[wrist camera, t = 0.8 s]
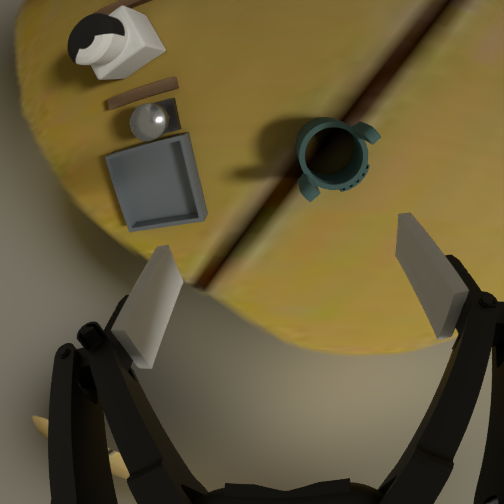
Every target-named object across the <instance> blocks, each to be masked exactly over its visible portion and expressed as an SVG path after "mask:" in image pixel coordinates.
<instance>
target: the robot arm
mask: <svg viewBox="0 0 504 504" xmlns="http://www.w3.org/2000/svg"><path fill="white" fill-rule="evenodd" d="M395 256H396V257H397V259H398V261H399V263H400V264H401V266H402V268H403V270H404V272H405V274H406V275H407V277H408V279H409V281H410V283H411V285H412V287H413V289H414V291H415V293H416V295H417V297H418V299H419V301H420V303H421V305H422V307H423V309H424V311H425V313H426V315H427V317H428V319H429V321H430V323H431V326H432V328H433V330H434V332H435V335H436V337H437V339H438V340H440V339H444V338H448V337H451V336H452V334H453V332H454V330H455V327H456V329H457V331H458V333H459V334H458V337H457V339H456V341H455V343H454V345H453V348H452V349H453V351H452V354H451V356H450V359H449V362H448V364H447V367H446V369H445V372H444V374H443V377H442V379H441V382H440V384H439V386H438V389H437V391H436V393H435V395H434V397H433V400H432V402H431V404H430V406H429V408H428V410H427V412H426V414H425V416H424V418H423V420H422V422H421V424H420V426H419V427H418V429H417V431H416V433H415V435H414V436H413V438H412V440H411V442H410V443H409V445H408V447H407V449H406V450H405V452H404V453H403V455H402V457H401V459H400V460H399V461H398V463H397V464H396V466H395V467H394V469H393V470H392V471H391V472H390V474H389V475H388V476H387V478H386V479H385V480H384V482H383V483H382V485H381V486H380V487H379V489H378V490H377V489H374V488H372V487H370V486H367V485H364V484H359V483H353V482H352V483H351V482H350V478H348V479H340V480H333V481H325V482H318V483H314V484H311V485H308V486H305V487H301V488H297V489H294V490H290V491H281V490H276V489H272V488H267V487H263V486H259V485H255V484H230V483H225V488H221V489H217V490H214V491H211V492H208V491H207V490H206V489H205V487H204V486H203V485H202V484H201V483H200V482H199V481H198V480H196V478H195V477H194V476H193V475H192V473H191V472H190V470H189V469H188V467H187V466H186V464H185V463H184V461H183V460H182V458H181V457H180V455H179V453H178V452H177V450H176V449H175V447H174V445H173V444H172V442H171V440H170V439H169V437H168V435H167V434H166V432H165V430H164V429H163V427H162V425H161V424H160V421H159V420H158V418H157V416H156V414H155V412H154V411H153V409H152V407H151V405H150V403H149V401H148V399H147V397H146V395H145V393H144V391H143V389H142V387H141V385H140V383H139V381H138V379H137V377H136V375H135V372H134V370H133V369H132V368H131V364H132V362H133V361H134V363H135V364H136V365H137V366H138V368H149V369H151V368H152V366H153V363H154V360H155V357H156V354H157V351H158V349H159V346H160V343H161V340H162V337H163V335H164V331H165V329H166V326H167V323H168V321H169V318H170V315H171V313H172V310H173V307H174V305H175V302H176V299H177V297H178V294H179V292H180V289H181V286H182V284H183V280H182V278H181V275H180V273H179V270H178V268H177V265H176V263H175V260H174V258H173V255H172V253H171V250H170V248H169V245H165V246H159V247H157V248H156V249H155V251H154V253H153V254H152V256H151V258H150V259H149V261H148V263H147V265H146V266H145V268H144V270H143V272H142V273H141V275H140V277H139V279H138V280H137V282H136V284H135V286H134V287H133V289H132V291H131V293H130V295H126V296H125V297H124V298H123V299H122V300H121V301H120V302H119V303H118V305H117V307H116V310H115V311H114V312H113V314H112V315H113V316H111V318H110V320H109V322H108V324H107V325H106V327H105V329H104V331H103V330H102V328H101V327H100V325H99V324H98V323H97V322H89V323H87V324H85V325H84V326H82V327H81V329H80V330H79V331H78V334H77V339H78V341H79V342H80V343H81V344H82V346H83V347H84V348H80V349H76V348H75V347H74V345H73V344H71V343H67V344H64V345H62V346H61V347H60V348H59V349H58V350H57V352H56V355H55V359H54V366H53V373H52V382H51V392H50V405H49V425H48V459H49V478H50V490H51V498H52V499H51V504H118V503H117V498H116V494H115V489H114V484H113V479H112V473H111V468H110V462H109V455H108V448H107V440H106V434H105V433H106V432H105V423H104V413H105V416H106V419H107V421H108V424H109V427H110V429H111V432H112V434H113V437H114V439H115V442H116V444H117V447H118V449H119V451H120V454H121V456H122V458H123V460H124V463H125V465H126V467H127V469H128V471H129V474H130V477H128V478H127V483H128V486H129V488H130V490H131V492H132V494H133V496H134V498H135V500H136V502H137V504H434V502H435V500H436V499H437V497H438V495H439V494H440V492H441V490H442V488H443V486H444V485H445V483H446V481H447V480H448V478H449V476H450V473H451V471H452V469H453V466H454V463H453V458H454V456H455V454H456V451H457V449H458V447H459V445H460V443H461V440H462V438H463V436H464V433H465V431H466V429H467V426H468V424H469V421H470V418H471V416H472V413H473V410H474V407H475V404H476V401H477V398H478V395H479V392H480V389H481V386H482V382H483V379H484V375H485V372H486V368H487V364H488V359H489V356H490V351H491V347H492V392H491V407H490V417H489V426H488V433H487V441H486V446H485V452H484V457H483V462H482V467H481V471H480V475H479V479H478V483H477V488H476V492H475V497H474V504H504V302H498V301H497V299H496V298H495V297H494V296H493V295H492V294H490V293H488V292H483V291H481V290H480V288H479V287H478V285H477V284H476V282H475V281H474V280H473V278H472V277H471V275H470V274H468V271H467V270H466V269H465V268H464V266H463V265H462V263H461V262H460V261H459V260H458V259H457V258H456V257H454V256H453V255H444V254H443V252H442V251H441V250H440V248H439V247H438V246H437V245H436V243H435V242H434V241H433V239H432V238H431V237H430V236H429V234H428V233H427V232H426V231H425V229H424V228H423V227H422V226H421V225H420V223H419V222H418V221H417V220H416V219H415V217H414V216H413V215H412V214H411V213H402V214H398V230H397V243H396V254H395ZM103 410H104V411H103Z"/></svg>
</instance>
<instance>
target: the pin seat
mask: <svg viewBox="0 0 504 504" xmlns="http://www.w3.org/2000/svg"><path fill="white" fill-rule="evenodd" d="M149 1H151V0H119V1H117V2H114V3H112V4H110V5H108V6H106V7H104V8H102V9H100V10H98V11H96V12H94V13H93V14H95V13H101V14H105V15H109V14H111V13H112V12H113V11H115V10H116V9H117V8H119V7H120V6H126V7H128V8H133V7H136V6H138V5H141V4H143V3H146V2H149ZM178 88H179V87H178V82H177V77H171V78H168V79H164V80H161V81H158V82H154V83H151V84H148V85H145V86H142V87H139V88H136V89H134V90H131V91H128V92H125V93H123V94H120V95H117V96H115V97H112V98H110V99H107V102H108V106H109V110H111V109H115V108H118V107H121V106H123V105H126V104H129V103H132V102H135V101H138V100H141V99H144V98H147V97H150V96H153V95H157V94H160V93H163V92H167V91H170V90H174V89H178Z"/></svg>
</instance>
